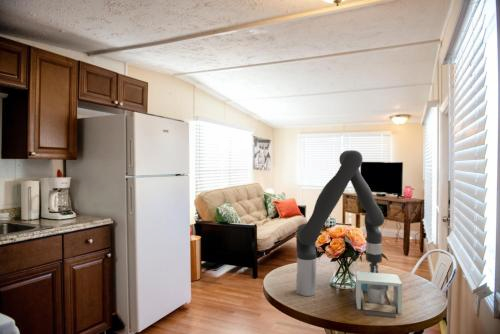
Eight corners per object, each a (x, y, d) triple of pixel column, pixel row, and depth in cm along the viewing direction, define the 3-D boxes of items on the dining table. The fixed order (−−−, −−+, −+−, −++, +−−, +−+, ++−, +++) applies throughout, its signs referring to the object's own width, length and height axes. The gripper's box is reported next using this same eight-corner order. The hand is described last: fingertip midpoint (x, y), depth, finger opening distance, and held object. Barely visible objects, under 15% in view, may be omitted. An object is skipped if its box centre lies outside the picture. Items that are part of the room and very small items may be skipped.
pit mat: (365, 314, 143) (365, 313, 143) (364, 312, 145) (364, 311, 145) (396, 318, 140) (396, 317, 140) (395, 315, 142) (395, 314, 142)
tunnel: (357, 308, 148) (357, 280, 148) (355, 298, 160) (355, 271, 160) (401, 313, 144) (402, 283, 144) (396, 302, 155) (397, 274, 155)
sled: (362, 309, 148) (362, 288, 148) (359, 289, 171) (359, 271, 171) (395, 313, 144) (396, 291, 144) (387, 292, 167) (387, 273, 167)
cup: (392, 310, 147) (392, 292, 147) (374, 311, 146) (374, 292, 146) (380, 300, 157) (380, 283, 157) (363, 300, 157) (364, 283, 157)
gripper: (364, 247, 176) (364, 281, 176) (367, 254, 162) (366, 290, 163) (380, 248, 174) (380, 282, 174) (383, 255, 160) (383, 292, 161)
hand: (373, 286), depth 168 cm, fingers closed on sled
